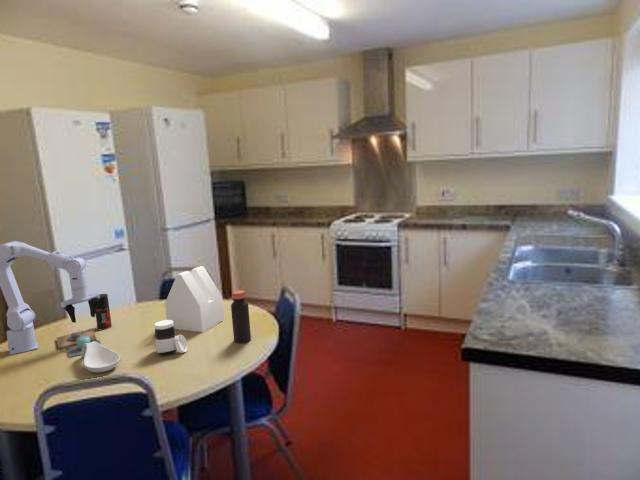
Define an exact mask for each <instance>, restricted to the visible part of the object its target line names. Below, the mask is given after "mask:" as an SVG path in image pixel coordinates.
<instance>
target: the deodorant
mask: <svg viewBox="0 0 640 480" xmlns="http://www.w3.org/2000/svg"><path fill="white" fill-rule="evenodd" d="M99 294H100V298H98V300H99V303H98V305H97V307H96V312H95V321H96V328H97V330H99V331H104V330H108V329H110V328H112V326H113V325H112V319H111V311H110V310H111V309H110V303H109V298H108V297H109V296H108V294H107V293H99Z"/></svg>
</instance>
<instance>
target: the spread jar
mask: <svg viewBox="0 0 640 480" xmlns="http://www.w3.org/2000/svg"><path fill="white" fill-rule="evenodd" d="M173 325H174V324H173V321H172V320H167V319H163V320H160V321H157V322H155V323H154V332H153V333H154V341H155V350H156V354H157V355H158V356H170V355H172V354H174V353H176V352H177V351H178V352H179V353H180V354H183V353H186V352H187V351H188V342H187V339H186V338H185V336H184V335H183V334H178V335H177V333H176V329H175V328H174V326H173Z"/></svg>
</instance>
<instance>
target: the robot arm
mask: <svg viewBox="0 0 640 480" xmlns="http://www.w3.org/2000/svg"><path fill="white" fill-rule="evenodd" d="M23 256H24V257H25V256H27V257H31V258H35V259H37V260H43V261H46V262H47V264H48V265H49V266H52V267H55V268H58V269H62V270H65V272H67V274H68V276H69V283H70V289H71V297H72V298H70V299H67V300H63V301H60V307H61V308H63V309H64V310H65V311H66V313H67V314H68V317H69V318H70V321H71V323H76V322H77V321H76V319H77V318H76V314H75V313H76V311H75V310H76V308H75V306H73V305H76V304H80V303H81V304H82V303H84V302H88V307H89V313H90V317H92V318H96V314H95V312H96V307H97V305H98V303H99V300H98V298H100V294H101V293H99V292H96V293H91V294H89V292H88V285H87V277H86V272H85V271H86V267H87V262H86V260H85V259H84V258H83V257H81V256H75V257H74V256H73V255H72V254H71V255H67V254H64V253H62V251H60V250H57V251H52V252H49V251H46V250H43V249H41V248H38V247H35V246H32V245H29V244H27V243H26V242H22V241H18V240H11V241H10V242H6V243H3V244H0V289H1V292H2V294H3V297H4V299H5V302H6V305H7V307H8V309H7V312H6V315H5V316H6V318H7V319H6V324H7V325H6V326H7V327H8V328H9V330H7V331H6V340H7V348H8V352H9V355H10V356H11V355H15V354H20V353H25V352H28V351H33V350H38V349H39V342H38V341H37V340H36V338H37V337H36V335H35V333H36V332H35V327H34V321H35V320H36V313H35V312H34V310H33V309H31V307H30V305H29V304H28V303H25V302H24V298H23V297H22V293H21V291H20V289H19V286H18V283H17V280H16V277H15V275H14V272H13V270H12V268H11V267H12V264H13V263H14V262H15V260H16V259H17V258H19V257H23Z"/></svg>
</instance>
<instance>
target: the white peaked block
mask: <svg viewBox="0 0 640 480" xmlns="http://www.w3.org/2000/svg"><path fill="white" fill-rule="evenodd" d="M164 304H165V305H164V306H165V314H166V315H165V316H166V320H172V321H173V324H174V325H173V326H174V328H175V330H181V329H182V331H189V330H190V331H191V332H197V331H198V332H197V333H204V332H206V331H208V330H210V329H212V328H213V327H215V326H217V325H219V324H220V323H222V322H224V321H225V316H224V315H225V314H224V303H223V296H222V294H221V292H220V290H219V289H218V287H217V286H216V284H215V283H214V281H213V279H212V278H211V276H210V274H209V273H208V271H207V269H206V268H205V266H202V265H201V266H197V267H194V268H192V269H191V271H190V270H189V271H188V270H186V271H183V272H180V273H177V274H176V276H175V279H174V281H173V283H172V285H171V289H170V290H169V293H168V296H167V297H166V300H165V302H164ZM223 320H224V321H223ZM221 321H222V322H221ZM219 322H220V323H219ZM218 323H219V324H218ZM216 324H217V325H216ZM214 325H215V326H214ZM212 326H213V327H212ZM209 328H210V329H209ZM207 329H208V330H207ZM205 330H206V331H205ZM190 331H189V332H190Z"/></svg>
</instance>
